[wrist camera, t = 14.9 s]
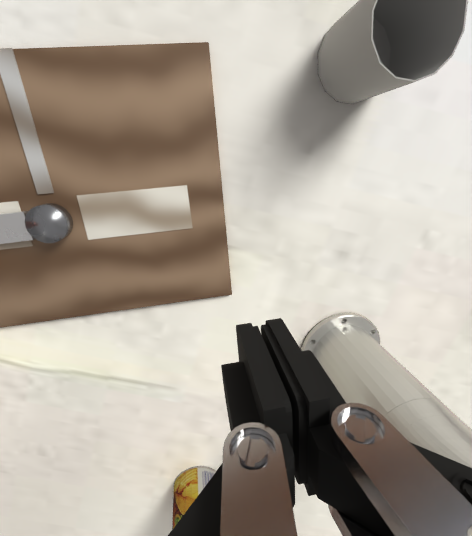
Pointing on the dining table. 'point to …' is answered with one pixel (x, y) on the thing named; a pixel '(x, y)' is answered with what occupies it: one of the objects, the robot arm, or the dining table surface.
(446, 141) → the dining table surface
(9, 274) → the board
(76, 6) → the dining table surface
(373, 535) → the robot arm
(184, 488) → the canned food
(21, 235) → the arm
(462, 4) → the cup
